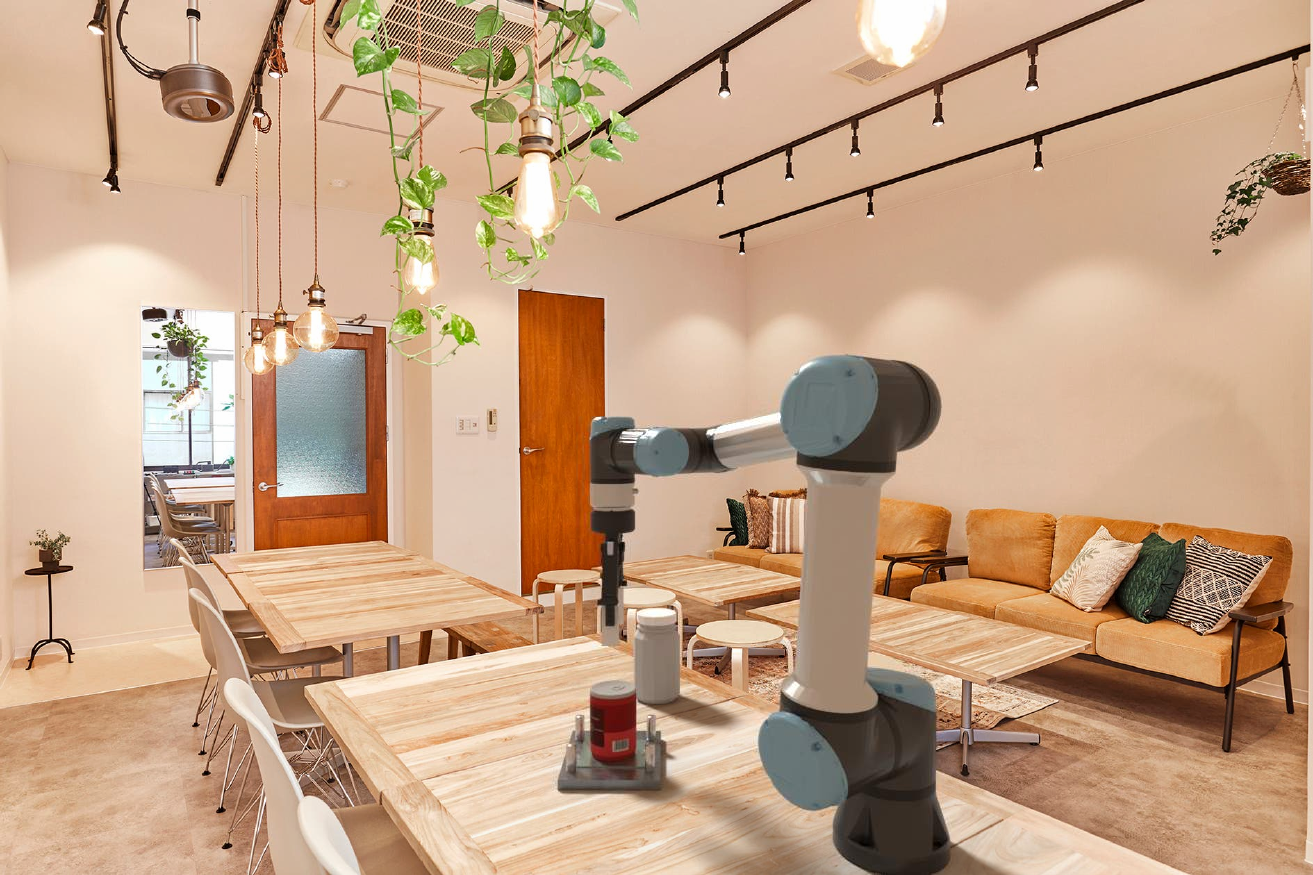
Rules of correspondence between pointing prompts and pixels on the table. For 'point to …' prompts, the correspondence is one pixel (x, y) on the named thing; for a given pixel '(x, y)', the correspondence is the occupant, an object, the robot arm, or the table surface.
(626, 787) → the plate
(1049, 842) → the table surface
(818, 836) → the table surface
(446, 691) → the table surface
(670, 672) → the jar
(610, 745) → the canned food
